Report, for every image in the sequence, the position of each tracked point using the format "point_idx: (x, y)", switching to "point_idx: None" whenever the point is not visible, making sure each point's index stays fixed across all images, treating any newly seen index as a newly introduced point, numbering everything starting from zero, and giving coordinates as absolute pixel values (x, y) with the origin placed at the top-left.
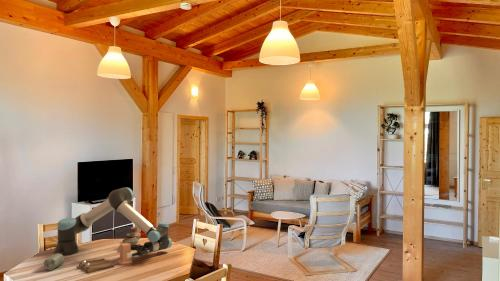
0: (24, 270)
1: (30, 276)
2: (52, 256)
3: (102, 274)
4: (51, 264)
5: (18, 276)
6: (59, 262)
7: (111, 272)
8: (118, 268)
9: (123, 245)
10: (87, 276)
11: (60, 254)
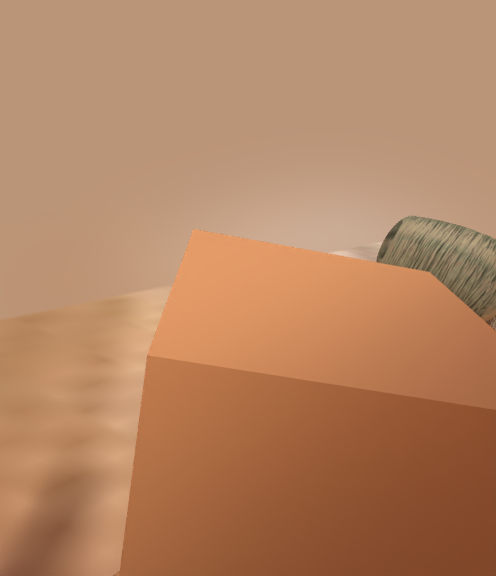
0: None
1: (344, 249)
2: (432, 219)
3: (70, 331)
4: (382, 243)
5: (368, 244)
6: (412, 265)
7: (24, 377)
8: (47, 475)
9: (204, 231)
10: (140, 291)
11: (477, 243)
